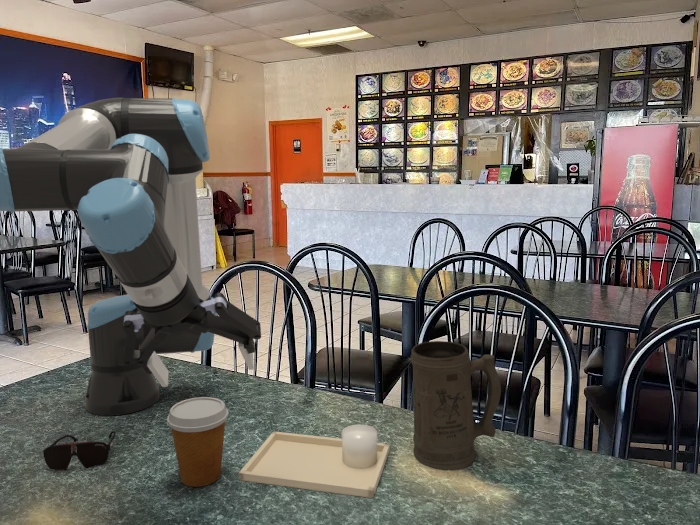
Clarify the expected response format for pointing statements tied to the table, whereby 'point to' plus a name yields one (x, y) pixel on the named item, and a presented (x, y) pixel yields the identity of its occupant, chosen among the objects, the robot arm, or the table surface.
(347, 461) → the white rounded cylinder
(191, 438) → the disposable coffee cup
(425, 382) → the beer stein
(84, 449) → the sunglasses
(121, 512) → the table surface
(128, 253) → the robot arm
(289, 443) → the serving tray
